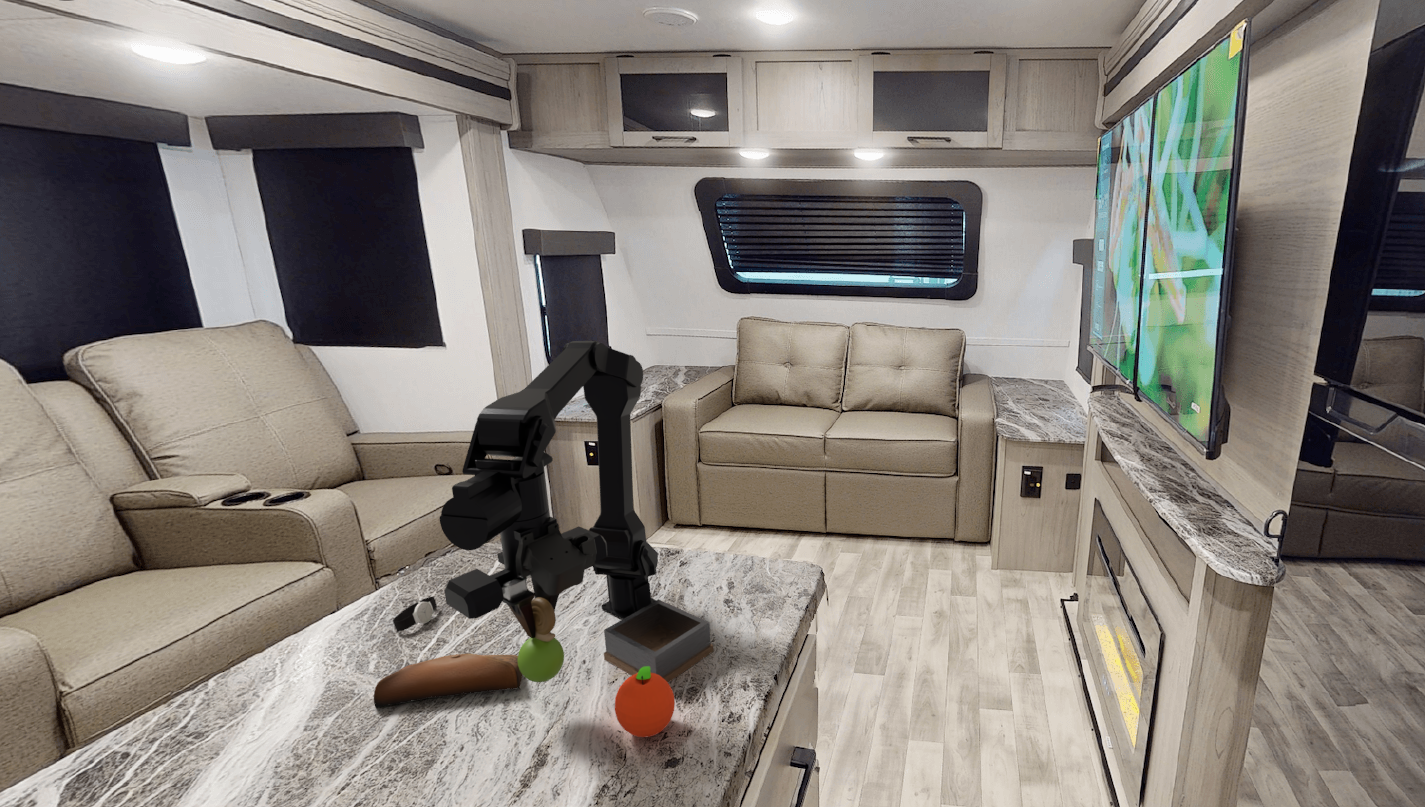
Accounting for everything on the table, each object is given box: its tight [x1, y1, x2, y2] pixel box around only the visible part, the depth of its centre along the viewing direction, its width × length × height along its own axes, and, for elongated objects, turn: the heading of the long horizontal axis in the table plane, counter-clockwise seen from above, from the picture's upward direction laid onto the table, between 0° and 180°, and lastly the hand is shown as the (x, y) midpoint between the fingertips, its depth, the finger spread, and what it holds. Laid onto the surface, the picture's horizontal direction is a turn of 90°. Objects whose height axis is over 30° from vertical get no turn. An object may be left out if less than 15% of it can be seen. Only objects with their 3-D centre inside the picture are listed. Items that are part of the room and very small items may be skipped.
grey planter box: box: [603, 599, 715, 684], centre depth 94 cm, size 11×11×4 cm
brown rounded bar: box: [373, 652, 523, 708], centre depth 91 cm, size 18×7×7 cm
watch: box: [392, 596, 438, 632], centre depth 107 cm, size 8×5×4 cm, turn 162°
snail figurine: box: [517, 587, 565, 683], centre depth 83 cm, size 5×6×12 cm
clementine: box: [614, 666, 676, 738], centre depth 80 cm, size 8×7×7 cm
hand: (538, 633), depth 83 cm, fingers closed on snail figurine
